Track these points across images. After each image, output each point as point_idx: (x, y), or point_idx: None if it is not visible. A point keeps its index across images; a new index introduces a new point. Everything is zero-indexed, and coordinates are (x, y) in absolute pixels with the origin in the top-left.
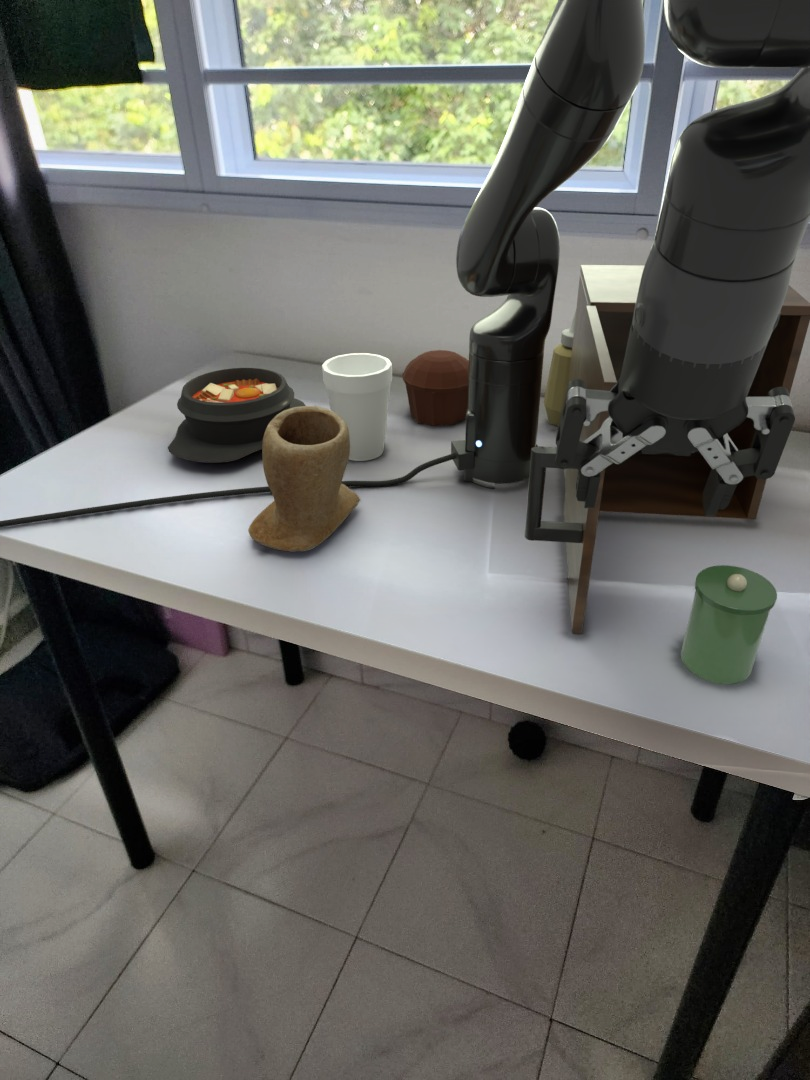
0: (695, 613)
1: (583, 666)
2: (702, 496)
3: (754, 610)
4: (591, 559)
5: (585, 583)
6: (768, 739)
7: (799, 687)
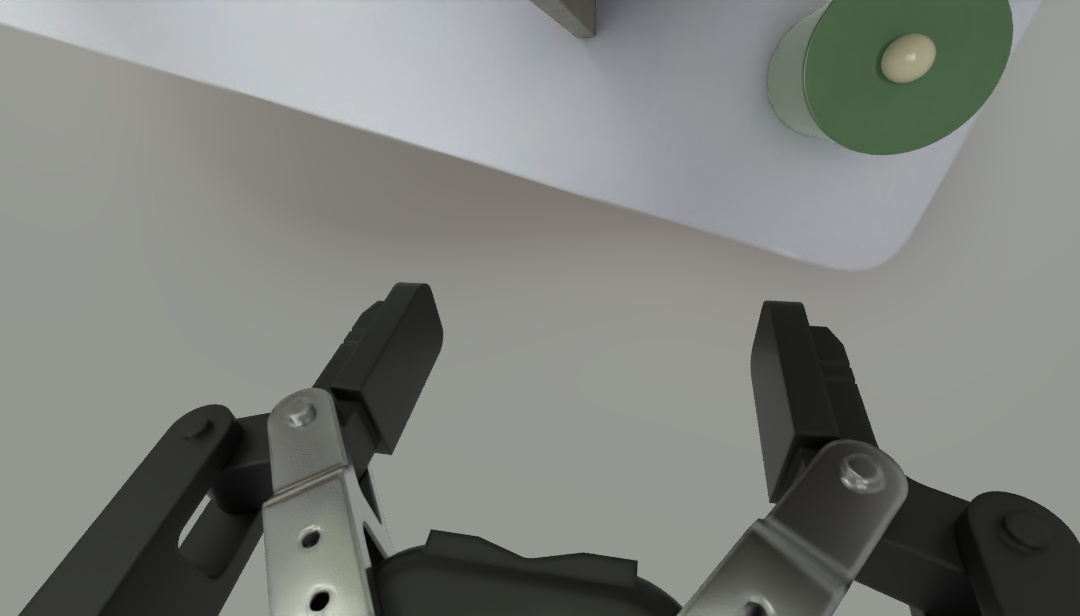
0: (792, 87)
1: (594, 123)
2: (764, 306)
3: (908, 150)
4: (566, 9)
5: (571, 20)
6: (850, 250)
7: (969, 123)
